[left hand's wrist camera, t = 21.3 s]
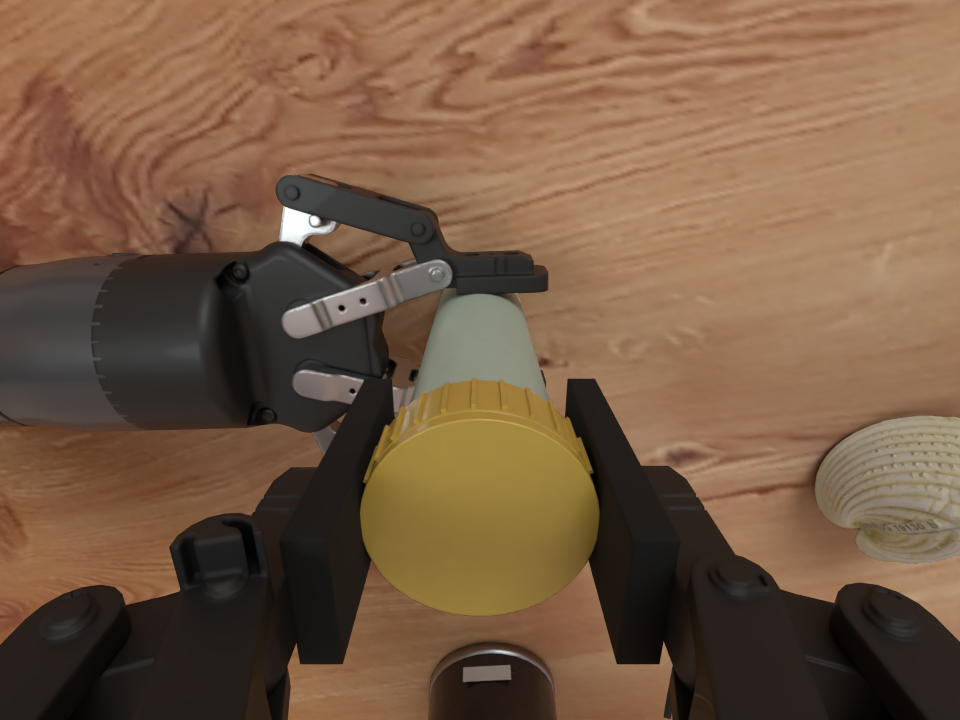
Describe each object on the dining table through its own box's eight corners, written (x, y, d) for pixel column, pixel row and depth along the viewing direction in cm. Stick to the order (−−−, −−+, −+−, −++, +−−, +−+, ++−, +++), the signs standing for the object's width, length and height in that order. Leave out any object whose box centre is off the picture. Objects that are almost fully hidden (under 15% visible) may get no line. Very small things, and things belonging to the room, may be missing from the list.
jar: (530, 280, 28) (610, 465, 11) (495, 344, 29) (517, 598, 12) (462, 246, 27) (433, 384, 10) (430, 313, 29) (356, 534, 12)
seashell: (783, 503, 30) (931, 450, 24) (808, 428, 36) (932, 371, 30) (888, 613, 29) (1067, 585, 23) (896, 518, 35) (1042, 477, 29)
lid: (626, 490, 12) (650, 544, 11) (461, 588, 14) (459, 653, 12) (502, 331, 11) (506, 364, 9) (329, 456, 12) (302, 507, 10)
